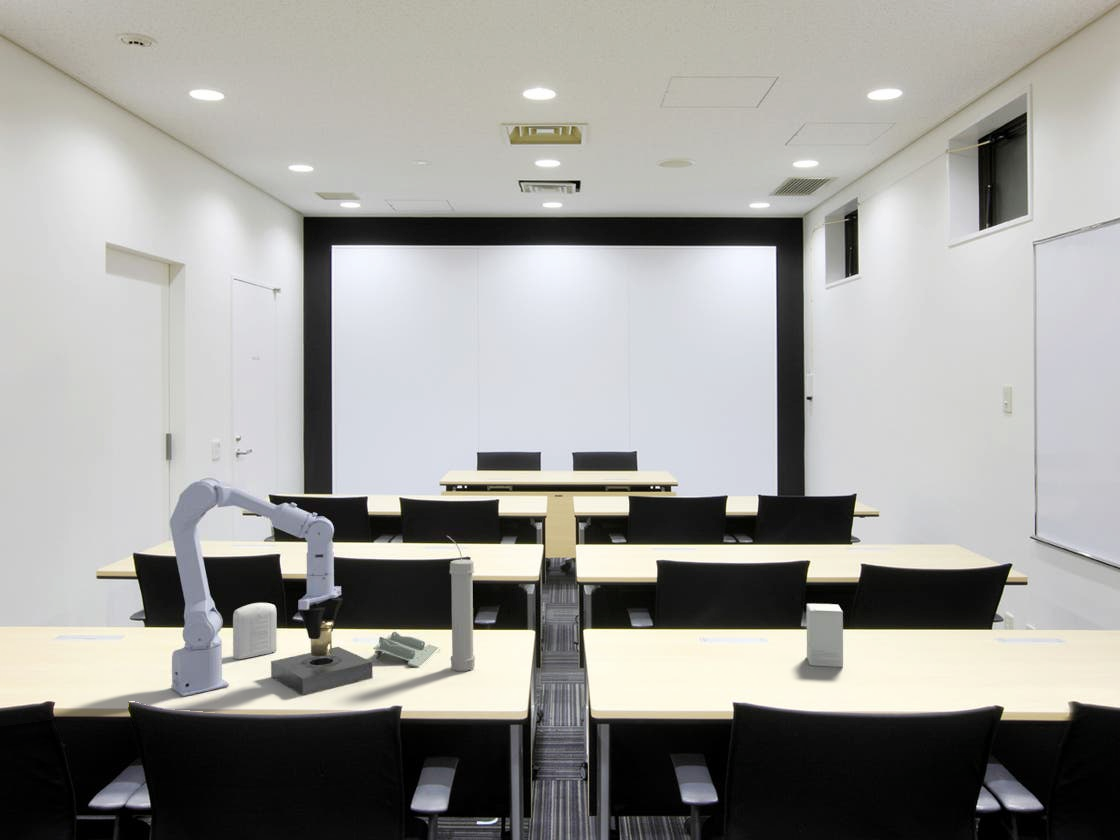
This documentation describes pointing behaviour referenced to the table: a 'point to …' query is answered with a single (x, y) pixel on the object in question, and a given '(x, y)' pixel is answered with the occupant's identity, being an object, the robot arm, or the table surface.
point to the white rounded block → (254, 630)
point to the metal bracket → (405, 648)
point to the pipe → (462, 614)
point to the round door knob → (323, 640)
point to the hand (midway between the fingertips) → (320, 634)
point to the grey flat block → (321, 671)
